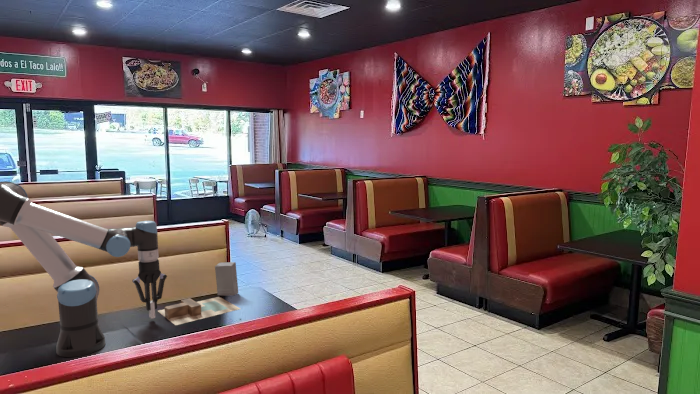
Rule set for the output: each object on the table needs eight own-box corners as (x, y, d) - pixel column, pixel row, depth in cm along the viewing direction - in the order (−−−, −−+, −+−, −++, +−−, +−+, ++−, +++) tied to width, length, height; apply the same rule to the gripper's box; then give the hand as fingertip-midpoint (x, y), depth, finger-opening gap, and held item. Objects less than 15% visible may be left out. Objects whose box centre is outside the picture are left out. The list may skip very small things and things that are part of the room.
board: (175, 328, 185) (175, 325, 185) (157, 313, 202) (157, 310, 202) (241, 311, 203) (241, 308, 203) (219, 299, 220) (219, 296, 220)
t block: (171, 321, 189) (171, 311, 189) (161, 313, 198) (161, 304, 198) (201, 314, 197) (201, 305, 196) (190, 307, 206) (190, 298, 206)
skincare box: (238, 293, 228) (237, 261, 226) (233, 298, 221) (232, 265, 219) (221, 293, 229) (220, 261, 227) (216, 298, 221) (214, 265, 220)
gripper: (134, 264, 180) (138, 324, 183) (168, 258, 189) (172, 316, 191) (128, 261, 186) (132, 318, 189) (162, 255, 194) (165, 311, 197)
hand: (152, 317), depth 190 cm, fingers closed
